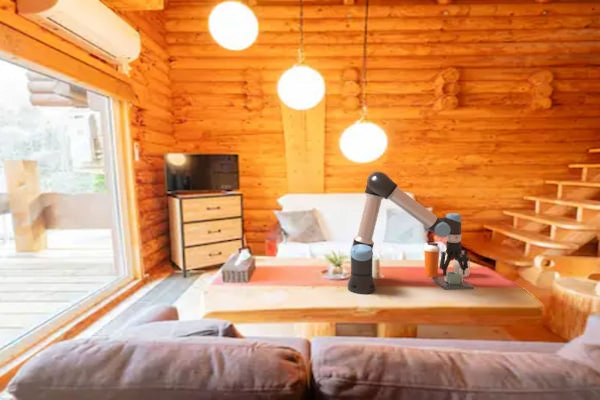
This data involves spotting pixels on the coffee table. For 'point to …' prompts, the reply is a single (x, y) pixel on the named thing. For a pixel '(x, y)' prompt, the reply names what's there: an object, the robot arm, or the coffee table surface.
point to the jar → (457, 267)
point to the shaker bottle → (431, 259)
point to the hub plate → (447, 286)
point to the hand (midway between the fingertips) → (453, 280)
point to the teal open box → (454, 277)
